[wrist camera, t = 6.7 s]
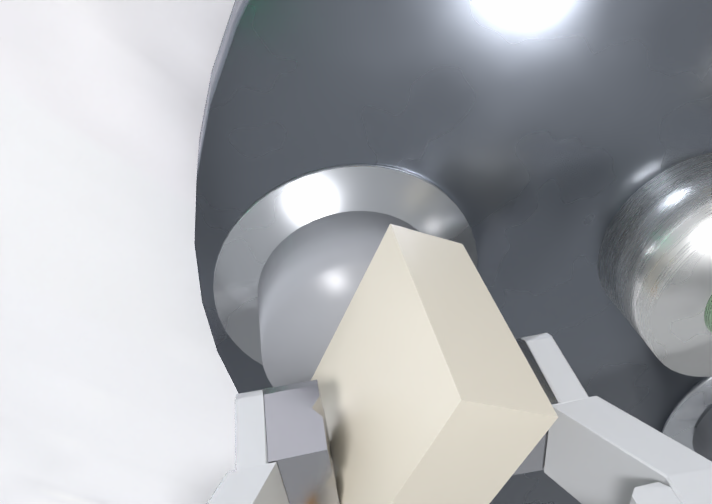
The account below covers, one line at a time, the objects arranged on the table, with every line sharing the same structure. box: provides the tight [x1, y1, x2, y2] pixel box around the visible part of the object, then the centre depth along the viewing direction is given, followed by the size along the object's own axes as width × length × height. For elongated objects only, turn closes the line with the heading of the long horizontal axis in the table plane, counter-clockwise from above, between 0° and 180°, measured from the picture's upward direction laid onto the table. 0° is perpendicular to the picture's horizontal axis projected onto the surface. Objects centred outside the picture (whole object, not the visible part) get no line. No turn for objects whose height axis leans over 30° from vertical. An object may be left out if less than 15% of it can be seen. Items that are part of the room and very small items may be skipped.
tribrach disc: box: [195, 0, 712, 504], centre depth 16 cm, size 25×25×5 cm
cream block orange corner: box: [257, 211, 558, 504], centre depth 13 cm, size 6×4×6 cm
